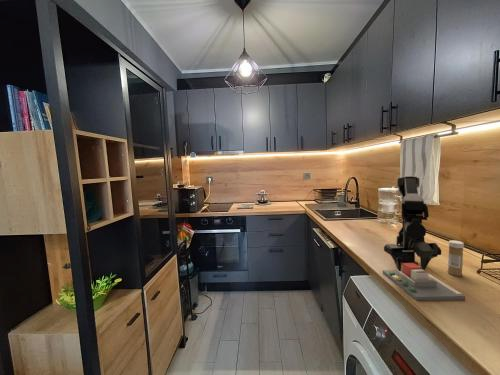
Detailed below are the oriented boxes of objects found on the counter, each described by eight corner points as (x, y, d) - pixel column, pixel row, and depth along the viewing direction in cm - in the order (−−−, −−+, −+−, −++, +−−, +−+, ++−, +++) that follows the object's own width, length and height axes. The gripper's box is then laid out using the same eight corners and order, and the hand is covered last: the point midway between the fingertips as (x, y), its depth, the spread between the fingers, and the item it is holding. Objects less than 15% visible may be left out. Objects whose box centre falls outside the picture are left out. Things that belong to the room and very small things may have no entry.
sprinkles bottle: (464, 275, 93) (466, 242, 92) (458, 277, 91) (460, 244, 90) (451, 270, 97) (452, 239, 96) (444, 272, 95) (446, 241, 94)
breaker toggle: (410, 279, 88) (410, 269, 88) (422, 279, 88) (422, 269, 88) (416, 283, 85) (416, 272, 85) (428, 283, 85) (428, 272, 85)
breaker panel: (382, 273, 97) (382, 265, 97) (421, 272, 97) (421, 264, 96) (416, 300, 77) (416, 291, 77) (464, 299, 77) (465, 290, 76)
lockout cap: (401, 273, 93) (402, 263, 93) (412, 273, 93) (413, 262, 93) (409, 278, 89) (409, 267, 89) (420, 278, 89) (421, 267, 88)
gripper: (401, 238, 82) (400, 281, 83) (454, 237, 81) (452, 280, 83) (383, 230, 93) (382, 267, 94) (430, 229, 92) (429, 266, 94)
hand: (411, 270), depth 91 cm, fingers open, 9 cm apart
